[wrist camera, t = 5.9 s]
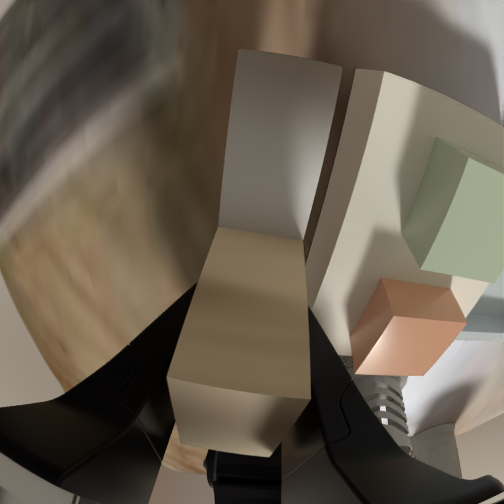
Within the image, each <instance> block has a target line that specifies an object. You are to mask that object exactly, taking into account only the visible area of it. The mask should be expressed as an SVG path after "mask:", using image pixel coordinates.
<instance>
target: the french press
mask: <svg viewBox="0 0 504 504" xmlns="http://www.w3.org/2000/svg"><path fill="white" fill-rule="evenodd" d="M347 370H348V372H349V374H350V376H351V377H352V380H353V381H354V382H355V384H356V386H357V387H358V389H359V391H360V392H361V394H362V396H363V397H364V399H365V400H366V402H367V403H368V405H369V406H370V408H371V409H372V411H373V412H374V413H375V415H376V416H377V417H378V419H379V420H380V421H381V418H387V419H388V425H385V424H383V425H384V427H385V428H386V430H387V431H388V432H389V434H390V435H391V436H392V438H393V439H394V440H395V442H396V443H397V444H398V445H399V446H400V447H401V449H402V450H404V451H405V452H406V453H407V454H409V453H410V451H411V445H410V438H409V437H408V436H407V435H406V434H408V433H409V431H408V426H407V424H406V422H407V419H406V414H405V413H404V411H405V408H404V403H403V402H402V401H403V397H402V392H401V390H402V389H403V387H404V386H405V385H406V382H407V378H408V376H392V375H364V374H354V366H353V367H350V368H348V369H347ZM401 405H402V406H401ZM381 406H386V412H385V411H380V407H381ZM381 423H382V421H381Z"/></svg>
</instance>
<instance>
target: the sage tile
mask: <svg viewBox="0 0 504 504" xmlns="http://www.w3.org/2000/svg"><path fill="white" fill-rule="evenodd" d="M401 234H402V236H403V238H404V239H405V241H406V243H407V245H408V247H409V249H410V250H411V252H412V254H413V256H414V258H415V260H416V262H417V264H418V266H419V268H420V269H421V270H427V271H432V272H437V273H442V274H448V275H453V276H458V277H463V278H469V279H474V280H479V281H484V282H489V283H494V284H495V282H496V281H497V279H498V277H499V276H500V274H501V272H502V271H503V269H504V168H503V167H501V166H499V165H497V164H495V163H493V162H491V161H489V160H487V159H485V158H483V157H481V156H479V155H477V154H475V153H473V152H471V151H468V150H466V149H464V148H462V147H459V146H457V145H455V144H453V143H450V142H448V141H445V140H443V139H441V138H438V137H436V140H435V143H434V146H433V150H432V153H431V156H430V159H429V162H428V165H427V168H426V171H425V174H424V176H423V179H422V182H421V185H420V188H419V190H418V193H417V196H416V198H415V201H414V203H413V206H412V209H411V211H410V214H409V216H408V219H407V221H406V223H405V226H404V228H403V231H402V233H401Z"/></svg>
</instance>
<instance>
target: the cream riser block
mask: <svg viewBox="0 0 504 504" xmlns="http://www.w3.org/2000/svg"><path fill="white" fill-rule="evenodd" d="M436 137H438V138H441V139H443V140H445V141H448V142H450V143H453V144H455V145H457V146H459V147H462V148H464V149H466V150H468V151H471V152H473V153H475V154H477V155H479V156H481V157H483V158H485V159H487V160H489V161H491V162H493V163H495V164H497V165H499V166H501V167H503V168H504V127H503V126H502V125H500V124H498V123H497V122H495V121H493V120H492V119H490V118H488V117H486V116H485V115H483V114H481V113H479V112H477V111H476V110H474V109H472V108H470V107H468V106H466V105H464V104H462V103H460V102H458V101H456V100H454V99H452V98H450V97H448V96H445V95H443V94H441V93H439V92H437V91H434V90H432V89H430V88H427V87H425V86H423V85H420V84H418V83H415V82H413V81H410V80H408V79H405V78H402V77H400V76H397V75H394V74H391V73H388V72H385V71H379V70H368V69H356V70H355V75H354V80H353V84H352V89H351V94H350V98H349V103H348V107H347V112H346V116H345V120H344V125H343V129H342V133H341V137H340V141H339V145H338V149H337V153H336V157H335V161H334V165H333V169H332V173H331V177H330V181H329V184H328V188H327V192H326V196H325V199H324V203H323V207H322V210H321V214H320V217H319V221H318V224H317V228H316V231H315V235H314V238H313V242H312V245H311V248H310V252H309V255H308V258H307V262H306V265H305V273H306V288H307V304H308V305H309V307H310V308H311V310H312V312H313V313H314V315H315V317H316V318H317V320H318V322H319V323H320V325H321V327H322V328H323V330H324V332H325V333H326V335H327V337H328V338H329V340H330V342H331V343H332V345H333V347H334V348H335V350H336V352H337V354H338V355H344V356H352V352H351V345H350V338H349V337H350V335H351V334H352V332H353V330H354V328H355V327H356V325H357V323H358V321H359V319H360V317H361V316H362V314H363V312H364V310H365V308H366V306H367V304H368V302H369V301H370V299H371V297H372V295H373V293H374V291H375V289H376V287H377V285H378V283H379V281H380V279H381V278H387V279H393V280H399V281H406V282H412V283H418V284H424V285H430V286H436V287H443V288H449V289H451V290H452V292H453V294H454V296H455V298H456V300H457V302H458V304H459V306H460V308H461V310H462V312H463V314H464V316H465V318H466V317H467V316H468V314H469V313H470V311H471V310H472V309H473V307H474V306H475V304H476V303H477V301H478V300H479V298H480V297H481V295H482V294H483V292H484V291H485V289H486V288H487V286H488V285H489V282H484V281H479V280H474V279H469V278H463V277H458V276H453V275H448V274H442V273H437V272H432V271H427V270H421V269H420V268H419V266H418V264H417V262H416V260H415V258H414V256H413V254H412V252H411V250H410V249H409V247H408V245H407V243H406V241H405V239H404V238H403V236H402V234H401V233H402V231H403V228H404V226H405V223H406V221H407V219H408V216H409V214H410V211H411V209H412V206H413V203H414V201H415V198H416V196H417V193H418V190H419V188H420V185H421V182H422V179H423V176H424V174H425V171H426V168H427V165H428V162H429V159H430V156H431V153H432V150H433V146H434V143H435V140H436Z"/></svg>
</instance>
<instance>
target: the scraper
mask: <svg viewBox="0 0 504 504" xmlns="http://www.w3.org/2000/svg"><path fill="white" fill-rule="evenodd" d="M342 72H343V67H342V66H338V65H334V64H329V63H325V62H321V61H316V60H311V59H306V58H301V57H296V56H290V55H284V54H278V53H271V52H264V51H256V50H248V49H238V54H237V61H236V69H235V76H234V83H233V91H232V99H231V107H230V115H229V124H228V132H227V141H226V150H225V160H224V169H223V179H222V189H221V200H220V211H219V222H218V228H217V231H216V234H215V236H214V239H213V242H212V245H211V247H210V250H209V253H208V256H207V258H206V261H205V264H204V267H203V270H202V272H201V275H200V278H199V281H198V284H197V287H196V289H195V292H194V295H193V298H192V301H191V304H190V307H189V310H188V313H187V316H186V319H185V322H184V325H183V328H182V331H181V334H180V337H179V340H178V343H177V346H176V349H175V352H174V355H173V358H172V361H171V365H170V368H169V371H168V374H167V382H168V387H169V392H170V397H171V402H172V407H173V411H174V416H175V420H176V425H177V429H178V433H179V438H180V442H181V444H186V445H190V446H195V447H200V448H206V449H211V450H217V451H223V452H230V453H237V454H244V455H252V456H262V457H270V456H271V454H272V453H273V452H274V450H275V449H276V448H277V446H278V445H279V444H280V442H281V441H282V440H283V438H284V437H285V436H286V434H287V433H288V432H289V430H290V429H291V427H292V426H293V425H294V423H295V422H296V420H297V419H298V417H299V416H300V415H301V413H302V412H303V410H304V409H305V407H306V406H307V404H308V403H309V401H310V400H311V378H310V346H309V323H308V304H307V288H306V273H305V259H304V246H303V239H304V235H305V232H306V228H307V224H308V220H309V216H310V213H311V209H312V205H313V201H314V197H315V193H316V189H317V185H318V181H319V177H320V172H321V168H322V164H323V160H324V156H325V151H326V147H327V143H328V138H329V134H330V129H331V125H332V120H333V115H334V111H335V106H336V101H337V97H338V92H339V87H340V82H341V77H342Z"/></svg>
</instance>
